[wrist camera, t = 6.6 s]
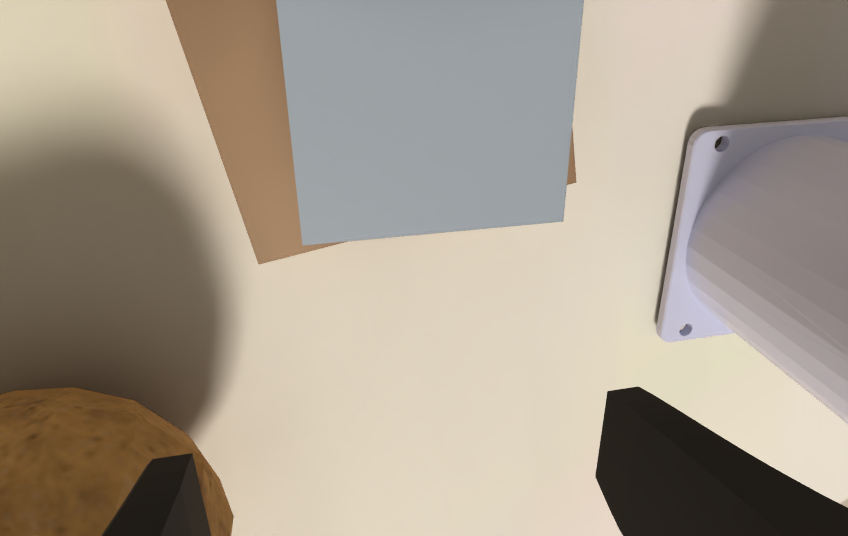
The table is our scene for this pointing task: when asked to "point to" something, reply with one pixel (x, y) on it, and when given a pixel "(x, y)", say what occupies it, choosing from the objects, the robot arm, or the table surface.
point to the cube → (428, 113)
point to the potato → (85, 461)
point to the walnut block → (251, 113)
